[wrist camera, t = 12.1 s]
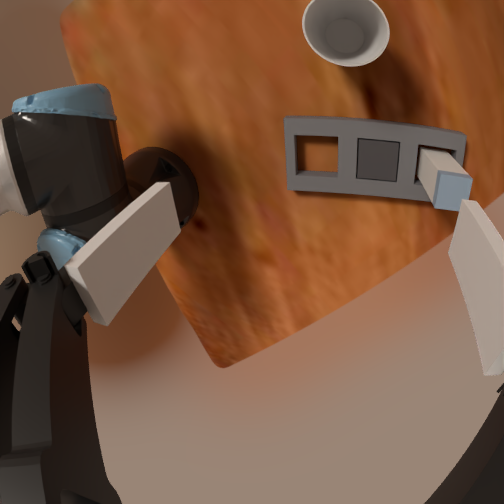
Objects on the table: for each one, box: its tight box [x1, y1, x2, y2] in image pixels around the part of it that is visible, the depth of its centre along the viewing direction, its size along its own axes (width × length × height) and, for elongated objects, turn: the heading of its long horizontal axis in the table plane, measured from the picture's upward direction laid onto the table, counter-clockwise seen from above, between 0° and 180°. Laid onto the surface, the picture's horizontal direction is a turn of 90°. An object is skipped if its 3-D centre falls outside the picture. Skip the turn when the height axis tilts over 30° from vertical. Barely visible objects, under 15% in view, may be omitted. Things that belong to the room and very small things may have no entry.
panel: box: [284, 116, 466, 202], centre depth 36 cm, size 24×10×2 cm, turn 95°
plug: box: [417, 147, 473, 211], centre depth 31 cm, size 4×4×10 cm
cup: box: [302, 0, 389, 66], centre depth 25 cm, size 8×8×10 cm
